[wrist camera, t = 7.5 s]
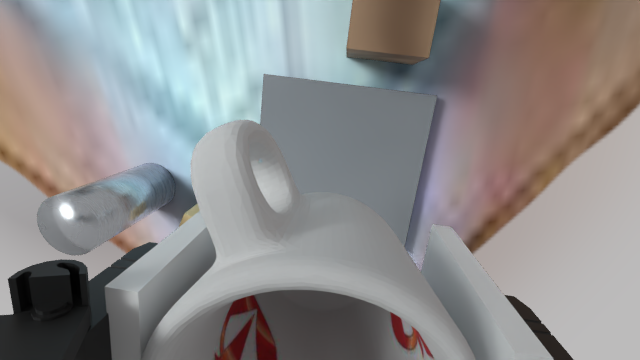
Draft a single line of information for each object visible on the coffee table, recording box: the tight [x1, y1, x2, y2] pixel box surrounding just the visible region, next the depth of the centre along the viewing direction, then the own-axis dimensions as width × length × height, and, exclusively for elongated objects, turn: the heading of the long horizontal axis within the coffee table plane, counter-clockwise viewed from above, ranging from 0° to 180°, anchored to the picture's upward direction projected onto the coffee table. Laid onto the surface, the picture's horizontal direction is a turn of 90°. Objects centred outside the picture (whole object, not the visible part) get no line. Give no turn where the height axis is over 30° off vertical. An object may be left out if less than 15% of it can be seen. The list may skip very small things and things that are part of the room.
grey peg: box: [37, 163, 175, 255], centre depth 24 cm, size 4×4×9 cm
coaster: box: [260, 74, 437, 247], centre depth 26 cm, size 13×13×1 cm
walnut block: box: [347, 0, 440, 65], centre depth 21 cm, size 5×5×5 cm
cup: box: [141, 120, 476, 360], centre depth 10 cm, size 11×8×8 cm
